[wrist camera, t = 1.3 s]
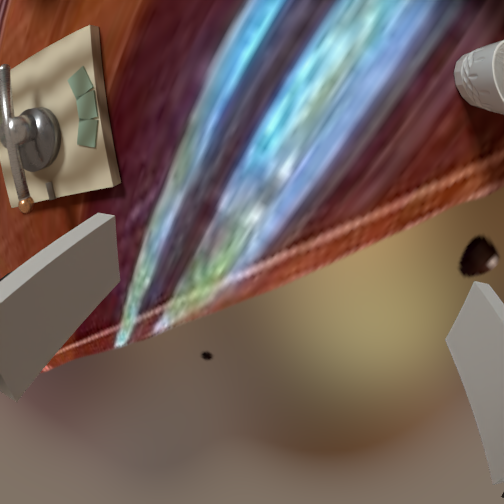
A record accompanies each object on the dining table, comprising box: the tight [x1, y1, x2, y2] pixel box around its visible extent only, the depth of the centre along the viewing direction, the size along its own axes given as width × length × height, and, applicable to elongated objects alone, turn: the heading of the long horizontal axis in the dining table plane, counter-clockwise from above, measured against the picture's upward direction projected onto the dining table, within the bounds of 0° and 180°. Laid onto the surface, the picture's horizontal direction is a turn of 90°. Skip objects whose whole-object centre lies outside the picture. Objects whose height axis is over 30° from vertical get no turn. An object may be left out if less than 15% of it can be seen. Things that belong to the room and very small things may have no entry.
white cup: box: [454, 40, 504, 115], centre depth 21 cm, size 8×8×10 cm
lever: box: [0, 64, 61, 214], centre depth 32 cm, size 21×9×7 cm, turn 7°
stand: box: [0, 25, 121, 208], centre depth 34 cm, size 22×23×5 cm
